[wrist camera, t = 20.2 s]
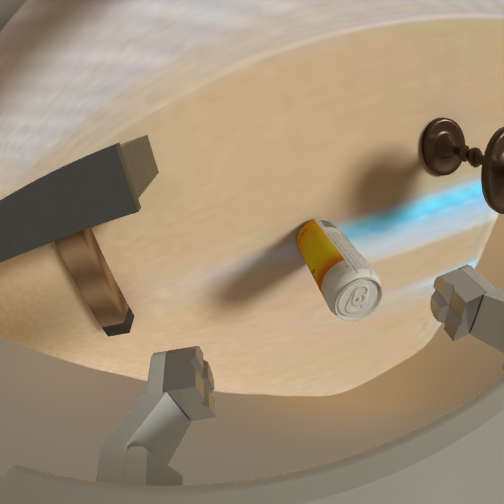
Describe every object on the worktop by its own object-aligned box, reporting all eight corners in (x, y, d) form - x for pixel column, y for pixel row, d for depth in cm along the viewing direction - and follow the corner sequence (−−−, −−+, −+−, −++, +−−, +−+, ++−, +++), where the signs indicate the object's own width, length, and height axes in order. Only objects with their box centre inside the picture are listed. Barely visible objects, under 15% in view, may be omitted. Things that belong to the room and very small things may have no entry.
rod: (58, 210, 35) (45, 221, 31) (79, 201, 35) (67, 212, 31) (113, 320, 44) (108, 336, 41) (134, 315, 44) (129, 332, 41)
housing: (-7, 203, 32) (-58, 240, 21) (149, 129, 32) (115, 144, 20) (7, 236, 35) (-39, 280, 24) (163, 175, 35) (138, 211, 23)
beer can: (292, 255, 42) (325, 326, 29) (298, 215, 39) (338, 275, 26) (332, 255, 43) (375, 321, 30) (339, 217, 40) (392, 274, 27)
